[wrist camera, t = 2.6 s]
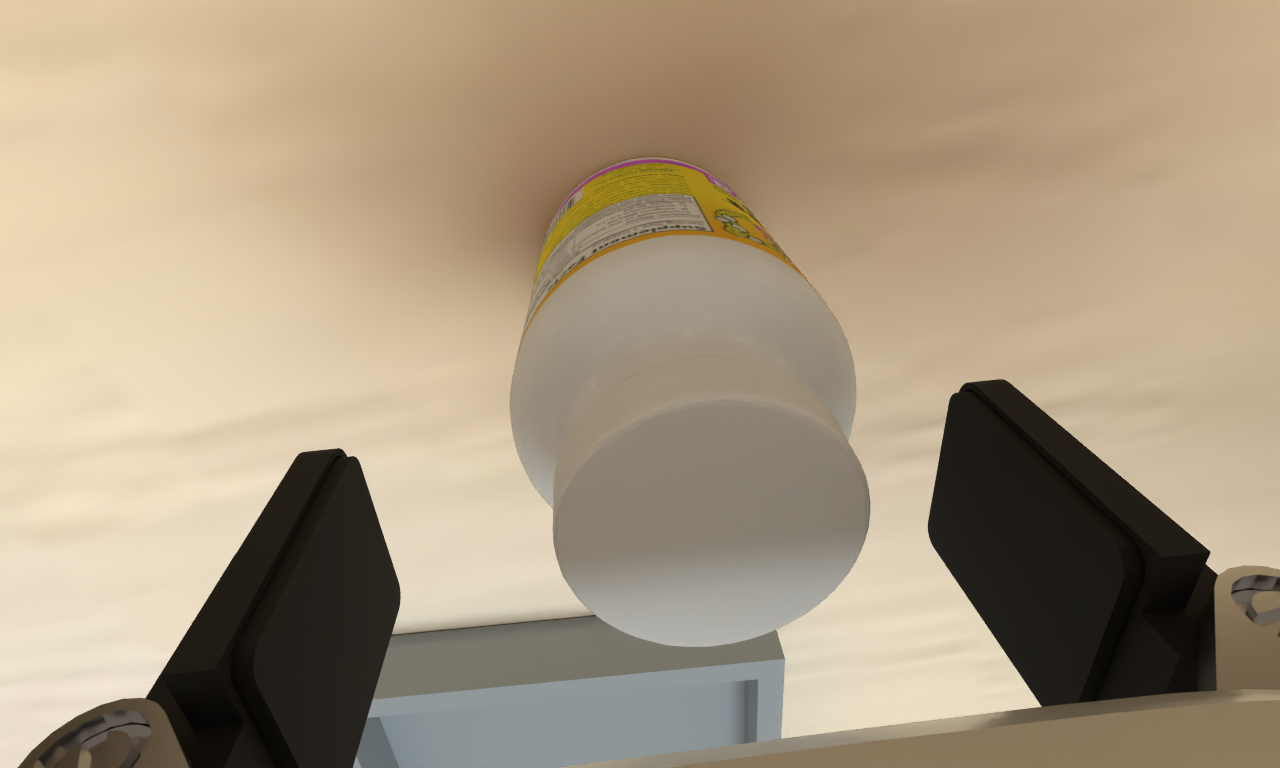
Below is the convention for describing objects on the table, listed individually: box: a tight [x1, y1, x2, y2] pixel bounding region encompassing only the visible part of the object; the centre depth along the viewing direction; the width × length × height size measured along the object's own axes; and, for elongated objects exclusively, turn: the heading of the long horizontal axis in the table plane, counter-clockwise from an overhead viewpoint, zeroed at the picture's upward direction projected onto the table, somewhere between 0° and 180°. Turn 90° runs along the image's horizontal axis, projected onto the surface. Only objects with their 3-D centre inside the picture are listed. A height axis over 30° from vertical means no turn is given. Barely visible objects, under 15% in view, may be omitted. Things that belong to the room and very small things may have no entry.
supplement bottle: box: [510, 157, 870, 647], centre depth 16 cm, size 7×7×13 cm
